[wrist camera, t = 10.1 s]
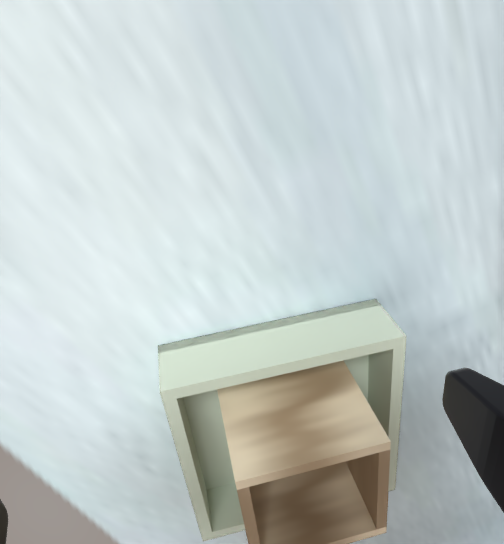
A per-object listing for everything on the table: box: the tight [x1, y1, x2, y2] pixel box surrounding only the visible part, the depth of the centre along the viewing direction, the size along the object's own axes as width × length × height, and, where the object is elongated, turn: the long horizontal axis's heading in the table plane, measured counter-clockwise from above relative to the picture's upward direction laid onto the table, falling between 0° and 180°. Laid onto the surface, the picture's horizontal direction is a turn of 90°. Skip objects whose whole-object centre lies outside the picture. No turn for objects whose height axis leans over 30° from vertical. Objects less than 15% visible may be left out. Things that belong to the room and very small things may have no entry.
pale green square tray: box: [158, 299, 406, 541], centre depth 24 cm, size 11×11×3 cm
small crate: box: [217, 360, 391, 544], centre depth 22 cm, size 6×6×6 cm
